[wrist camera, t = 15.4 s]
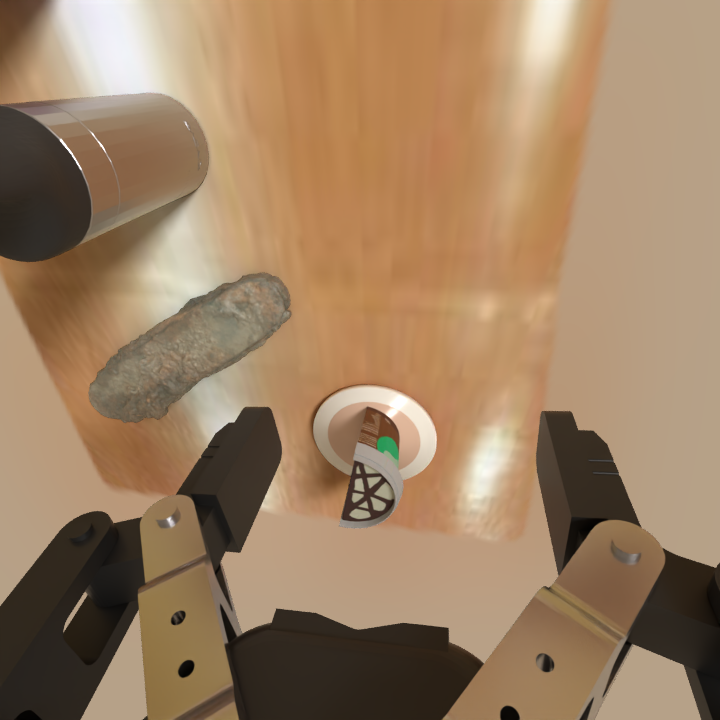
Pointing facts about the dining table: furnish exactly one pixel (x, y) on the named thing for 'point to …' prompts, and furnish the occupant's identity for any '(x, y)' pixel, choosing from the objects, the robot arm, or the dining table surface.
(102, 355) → the dining table surface
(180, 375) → the elongated rock
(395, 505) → the food container
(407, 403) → the dish
